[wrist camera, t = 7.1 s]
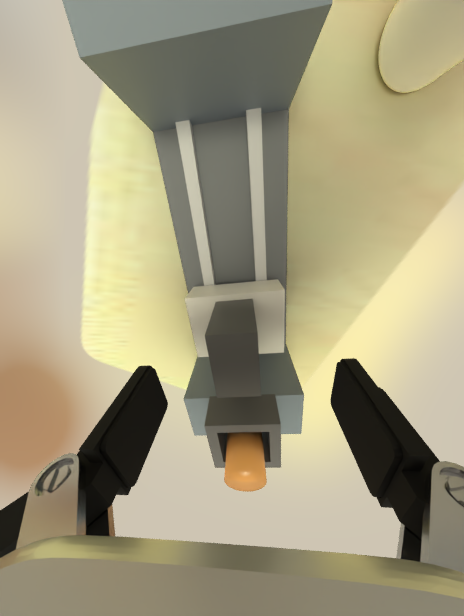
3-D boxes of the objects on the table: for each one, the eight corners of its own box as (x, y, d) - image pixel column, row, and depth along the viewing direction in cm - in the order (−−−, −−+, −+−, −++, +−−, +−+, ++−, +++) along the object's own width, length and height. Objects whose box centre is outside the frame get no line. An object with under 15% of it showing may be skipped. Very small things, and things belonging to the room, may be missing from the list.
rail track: (145, 56, 14) (-153, -456, 3) (283, 27, 13) (457, -794, 2) (209, 369, 26) (188, 467, 16) (282, 366, 25) (310, 467, 15)
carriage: (193, 286, 18) (160, 331, 11) (278, 279, 17) (304, 321, 10) (203, 339, 20) (182, 404, 13) (278, 334, 20) (299, 400, 12)
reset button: (225, 423, 15) (221, 469, 12) (261, 422, 14) (265, 469, 12) (229, 445, 16) (227, 491, 13) (262, 444, 16) (267, 491, 13)
